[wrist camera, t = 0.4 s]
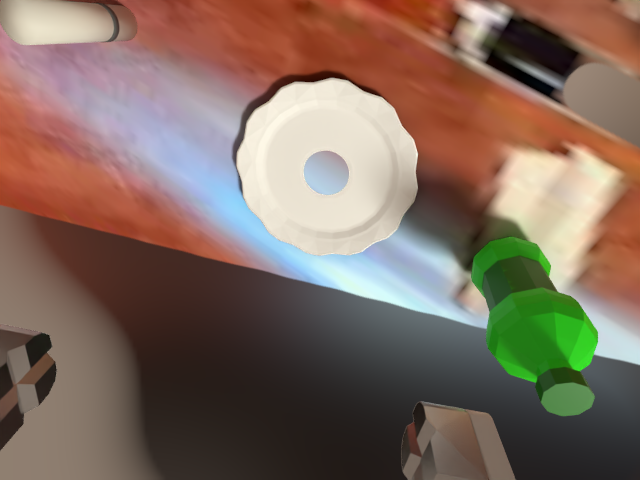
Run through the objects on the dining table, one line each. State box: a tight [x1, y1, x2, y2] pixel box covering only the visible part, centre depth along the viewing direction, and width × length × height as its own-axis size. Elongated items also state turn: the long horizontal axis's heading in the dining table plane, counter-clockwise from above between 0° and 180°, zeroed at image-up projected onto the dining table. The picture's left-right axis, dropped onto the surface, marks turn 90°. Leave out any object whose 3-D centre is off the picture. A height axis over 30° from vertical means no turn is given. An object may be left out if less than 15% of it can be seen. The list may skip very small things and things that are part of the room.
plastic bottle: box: [471, 236, 598, 416], centre depth 46 cm, size 10×10×25 cm
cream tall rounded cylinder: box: [0, 0, 137, 45], centre depth 44 cm, size 4×4×16 cm
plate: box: [236, 78, 418, 256], centre depth 55 cm, size 25×25×2 cm
